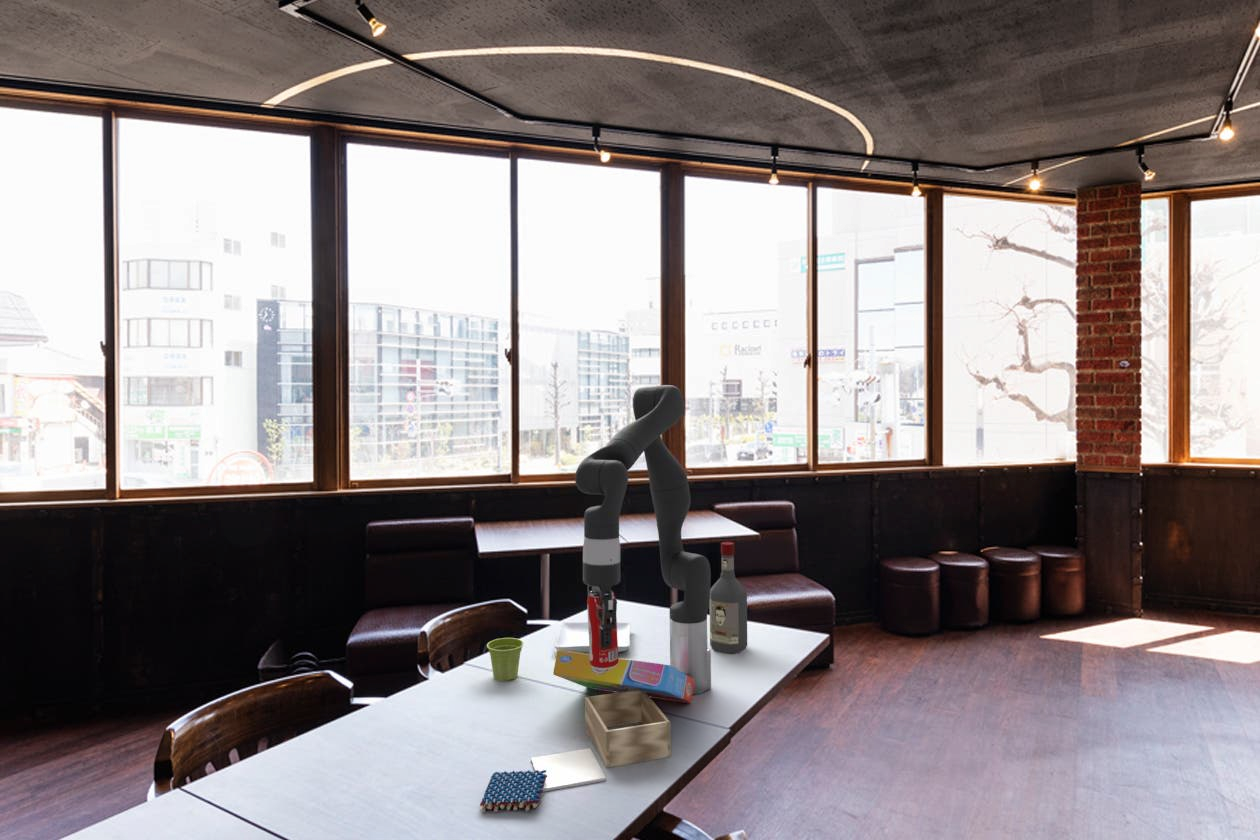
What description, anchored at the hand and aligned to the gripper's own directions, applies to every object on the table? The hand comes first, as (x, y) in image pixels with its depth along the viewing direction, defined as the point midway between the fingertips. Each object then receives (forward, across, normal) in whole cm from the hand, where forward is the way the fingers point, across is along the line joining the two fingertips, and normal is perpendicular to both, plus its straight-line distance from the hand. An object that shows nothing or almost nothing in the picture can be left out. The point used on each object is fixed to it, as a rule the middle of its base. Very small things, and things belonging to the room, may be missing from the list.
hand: (601, 642), depth 144 cm
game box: (+15, +28, 0) cm, 32 cm away
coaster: (+23, -4, +8) cm, 24 cm away
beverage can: (+5, 0, 0) cm, 5 cm away
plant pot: (+22, +47, +13) cm, 54 cm away
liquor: (+21, +47, -50) cm, 72 cm away
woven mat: (+23, -10, +19) cm, 31 cm away
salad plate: (+22, +64, -15) cm, 70 cm away
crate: (+22, +3, -6) cm, 23 cm away
